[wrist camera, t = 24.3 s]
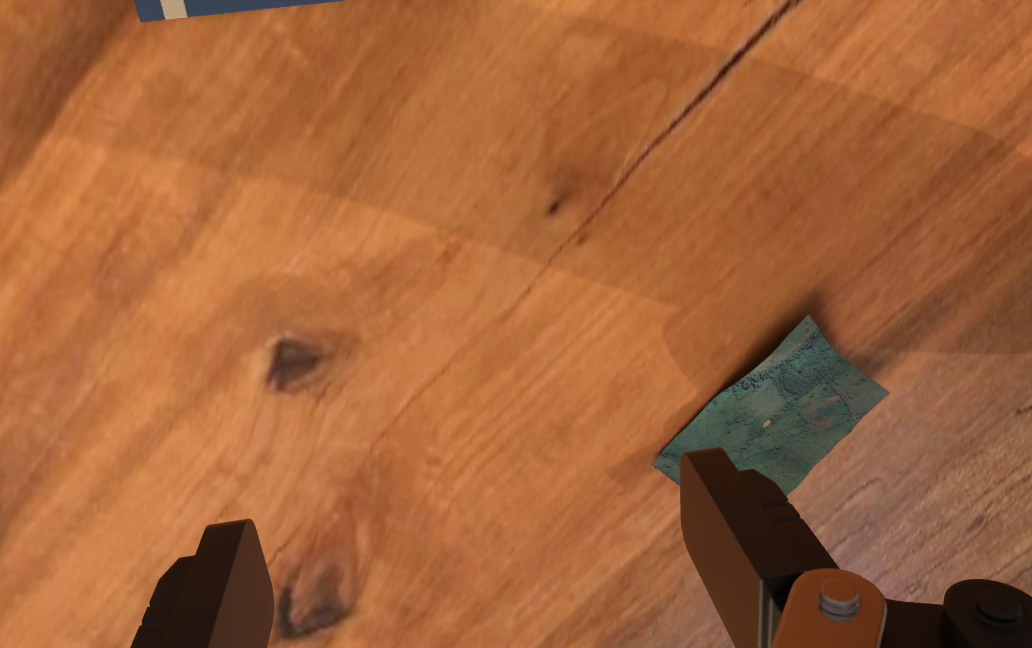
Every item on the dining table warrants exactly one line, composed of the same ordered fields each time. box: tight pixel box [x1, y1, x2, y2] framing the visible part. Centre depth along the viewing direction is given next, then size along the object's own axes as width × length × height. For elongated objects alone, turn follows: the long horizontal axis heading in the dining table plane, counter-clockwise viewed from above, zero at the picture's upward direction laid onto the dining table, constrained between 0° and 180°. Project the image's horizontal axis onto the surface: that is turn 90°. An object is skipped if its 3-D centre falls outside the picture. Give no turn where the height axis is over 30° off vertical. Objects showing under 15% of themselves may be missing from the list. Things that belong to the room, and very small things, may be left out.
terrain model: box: [652, 315, 890, 496], centre depth 48 cm, size 13×8×2 cm, turn 140°
